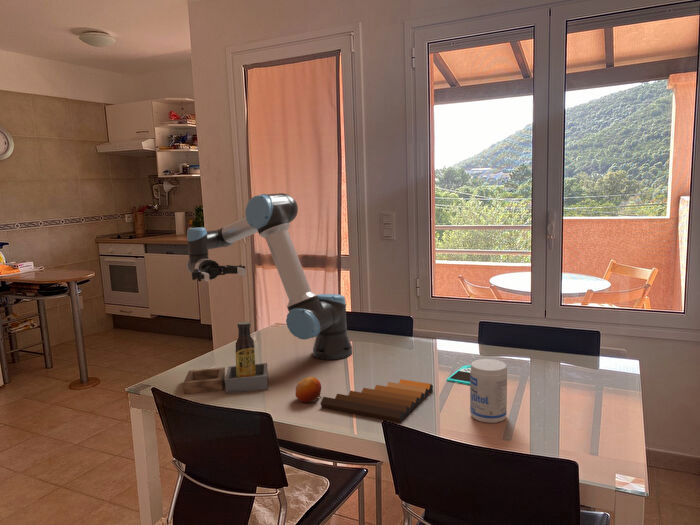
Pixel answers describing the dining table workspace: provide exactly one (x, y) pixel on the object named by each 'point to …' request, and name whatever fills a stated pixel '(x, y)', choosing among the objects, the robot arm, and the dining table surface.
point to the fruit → (308, 389)
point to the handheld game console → (461, 375)
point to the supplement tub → (488, 390)
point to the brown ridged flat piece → (382, 400)
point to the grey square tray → (247, 380)
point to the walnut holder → (204, 380)
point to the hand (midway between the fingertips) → (227, 275)
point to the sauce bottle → (245, 352)
